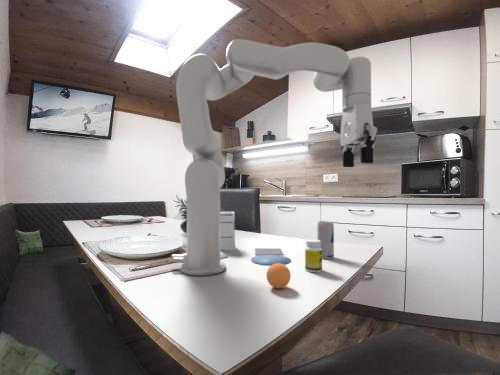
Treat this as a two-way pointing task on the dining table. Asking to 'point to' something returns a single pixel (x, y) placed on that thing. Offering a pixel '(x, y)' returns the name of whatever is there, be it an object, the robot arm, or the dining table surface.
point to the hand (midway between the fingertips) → (357, 165)
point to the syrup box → (227, 230)
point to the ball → (278, 275)
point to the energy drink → (326, 239)
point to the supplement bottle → (313, 256)
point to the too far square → (268, 251)
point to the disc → (270, 259)
